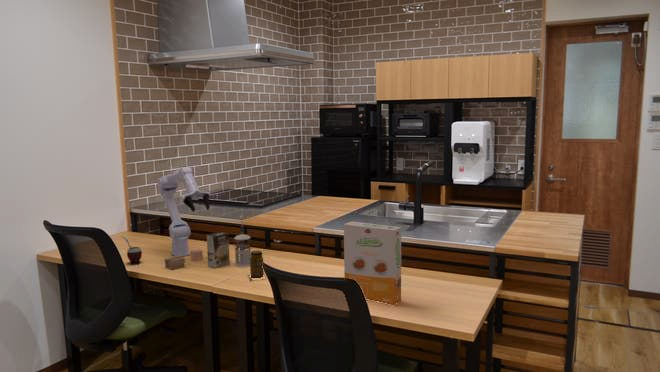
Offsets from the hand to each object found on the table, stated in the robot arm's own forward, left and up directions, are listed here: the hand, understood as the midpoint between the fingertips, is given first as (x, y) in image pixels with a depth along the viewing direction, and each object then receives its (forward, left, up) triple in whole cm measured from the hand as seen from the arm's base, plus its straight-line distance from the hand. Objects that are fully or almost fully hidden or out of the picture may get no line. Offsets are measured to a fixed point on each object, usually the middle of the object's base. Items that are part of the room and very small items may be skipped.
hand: (201, 209), depth 254 cm
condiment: (+35, +9, -29) cm, 46 cm away
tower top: (-7, -12, -26) cm, 30 cm away
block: (-12, +2, -29) cm, 31 cm away
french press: (+11, +16, -29) cm, 34 cm away
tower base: (-7, -12, -29) cm, 32 cm away
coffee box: (+5, +6, -29) cm, 30 cm away
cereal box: (+90, +30, -29) cm, 99 cm away
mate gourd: (-28, -25, -29) cm, 48 cm away
